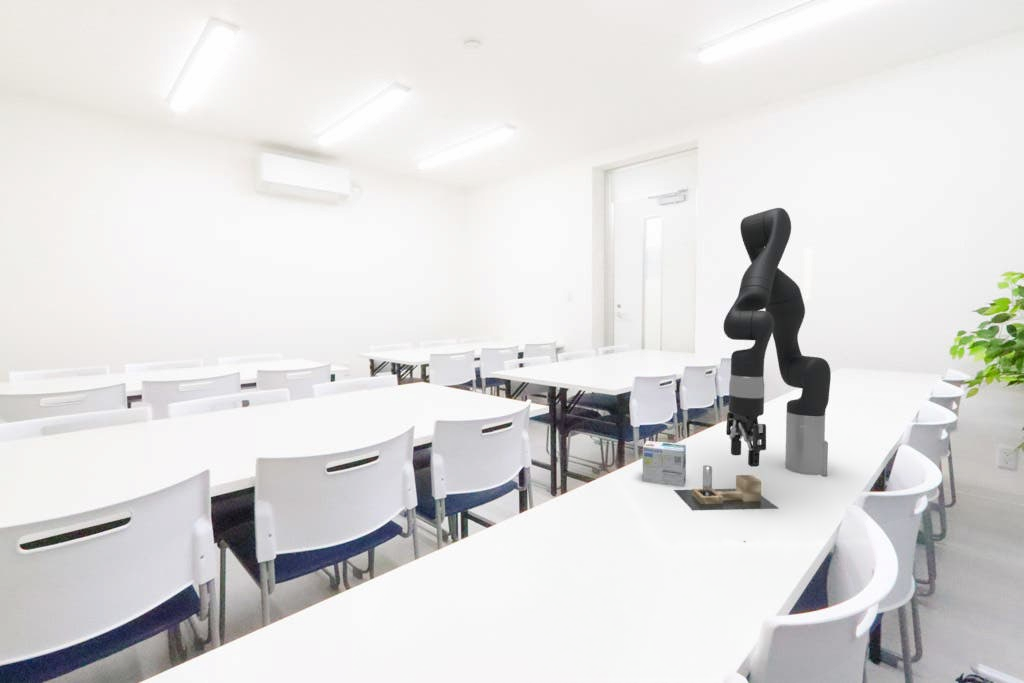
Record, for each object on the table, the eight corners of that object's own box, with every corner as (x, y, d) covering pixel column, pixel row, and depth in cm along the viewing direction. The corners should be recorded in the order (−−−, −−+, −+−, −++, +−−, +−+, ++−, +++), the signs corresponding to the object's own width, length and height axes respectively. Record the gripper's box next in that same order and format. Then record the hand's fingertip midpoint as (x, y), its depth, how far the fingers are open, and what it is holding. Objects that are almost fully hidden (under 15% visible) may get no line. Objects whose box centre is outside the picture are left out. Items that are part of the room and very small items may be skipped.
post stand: (751, 492, 118) (752, 457, 118) (779, 512, 106) (779, 474, 106) (673, 493, 118) (673, 459, 117) (692, 514, 106) (692, 476, 105)
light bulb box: (686, 482, 126) (686, 443, 125) (684, 491, 120) (684, 450, 119) (645, 477, 130) (646, 439, 130) (641, 485, 124) (642, 446, 123)
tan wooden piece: (750, 493, 115) (750, 473, 114) (762, 502, 109) (762, 481, 109) (692, 494, 115) (692, 475, 114) (701, 503, 109) (701, 483, 109)
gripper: (779, 399, 104) (776, 470, 105) (746, 389, 118) (744, 451, 119) (745, 399, 104) (743, 470, 105) (717, 389, 118) (715, 451, 119)
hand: (744, 460), depth 112 cm, fingers open, 8 cm apart
